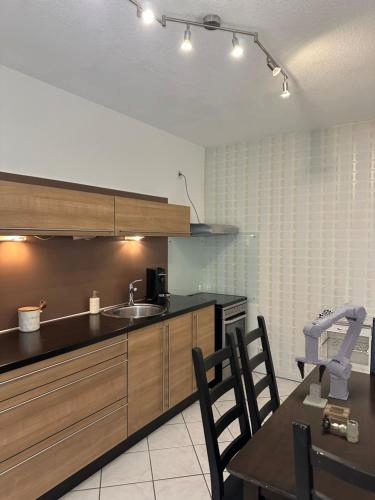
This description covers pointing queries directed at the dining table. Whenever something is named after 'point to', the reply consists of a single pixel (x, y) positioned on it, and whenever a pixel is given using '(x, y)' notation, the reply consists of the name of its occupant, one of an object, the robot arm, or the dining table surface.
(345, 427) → the valve
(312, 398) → the steel peg
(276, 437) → the dining table surface
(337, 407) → the socket block
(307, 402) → the sage pad
